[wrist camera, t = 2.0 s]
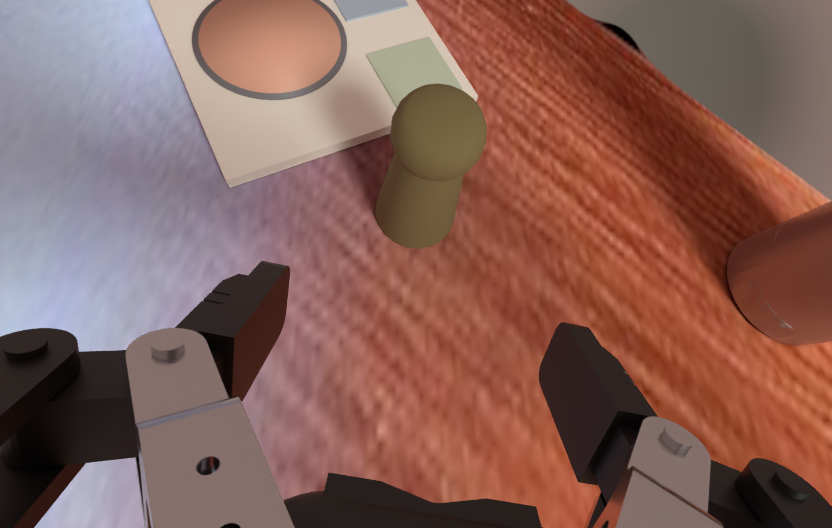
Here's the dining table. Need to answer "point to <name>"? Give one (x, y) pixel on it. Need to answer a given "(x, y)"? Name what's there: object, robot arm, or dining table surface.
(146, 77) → the dining table surface
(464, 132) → the olive pawn
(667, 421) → the robot arm
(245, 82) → the picture board
